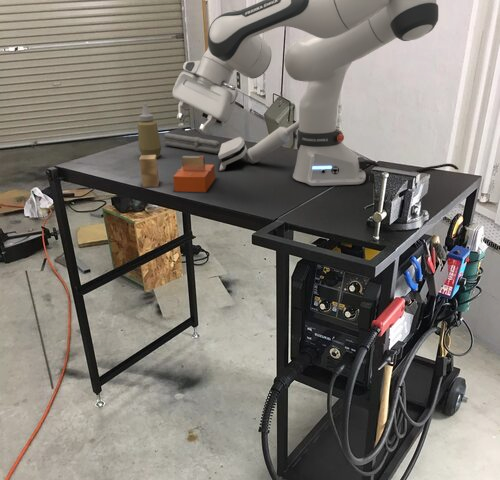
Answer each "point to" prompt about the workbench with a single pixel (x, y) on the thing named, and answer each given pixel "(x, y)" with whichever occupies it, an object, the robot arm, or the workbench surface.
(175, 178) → the orange box
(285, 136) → the bottle
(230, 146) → the white rounded block
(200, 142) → the metal rod assembly
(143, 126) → the squeeze bottle
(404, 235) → the workbench surface
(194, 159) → the tan rectangular block
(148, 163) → the workpiece
